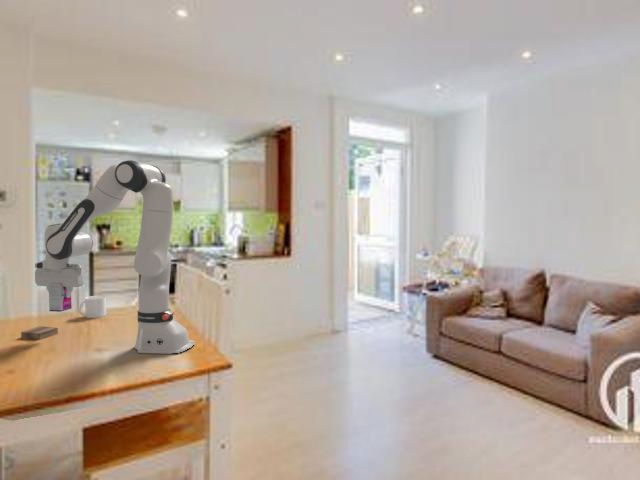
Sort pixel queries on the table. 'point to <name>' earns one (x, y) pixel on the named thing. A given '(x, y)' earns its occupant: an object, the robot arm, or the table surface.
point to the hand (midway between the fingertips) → (60, 297)
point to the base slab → (39, 332)
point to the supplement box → (58, 298)
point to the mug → (94, 307)
